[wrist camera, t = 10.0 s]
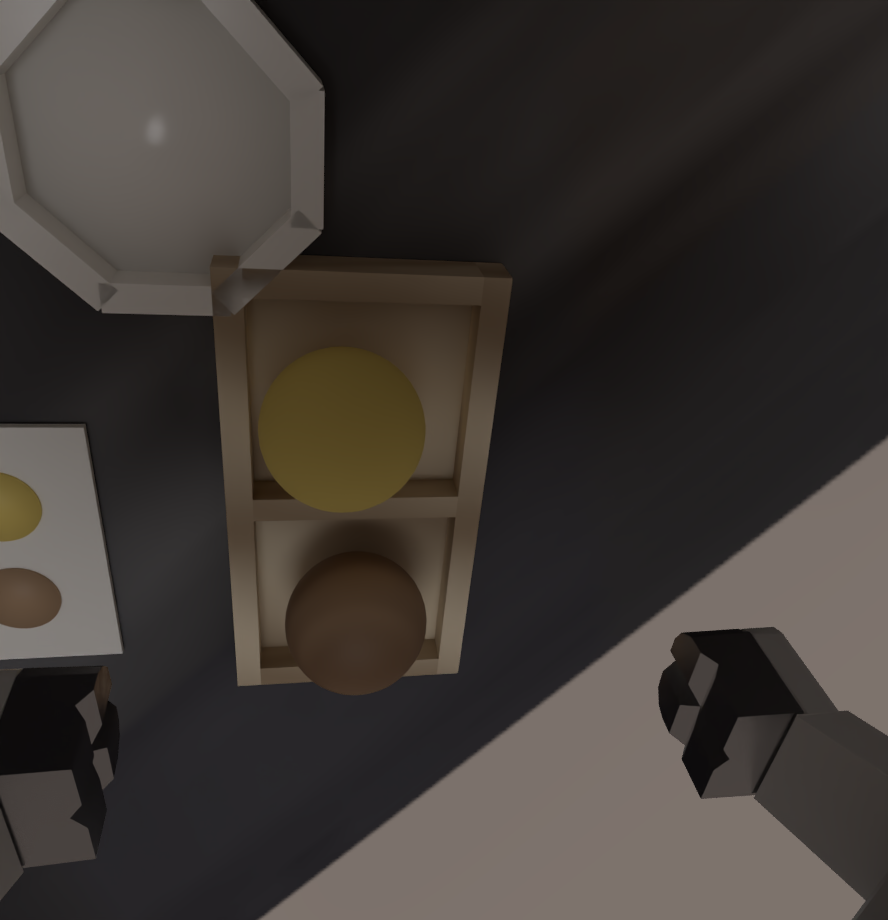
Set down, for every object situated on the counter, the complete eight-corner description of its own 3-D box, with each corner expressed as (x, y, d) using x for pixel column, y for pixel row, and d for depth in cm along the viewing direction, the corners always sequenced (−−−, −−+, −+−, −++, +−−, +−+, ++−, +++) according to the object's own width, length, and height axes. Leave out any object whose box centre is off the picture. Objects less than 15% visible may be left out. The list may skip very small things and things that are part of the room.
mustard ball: (283, 313, 19) (229, 378, 16) (440, 332, 19) (420, 403, 16) (286, 449, 21) (238, 533, 18) (428, 467, 21) (407, 557, 18)
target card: (-131, 423, 19) (-137, 429, 19) (85, 423, 20) (82, 429, 20) (-53, 657, 23) (-57, 665, 23) (123, 648, 24) (122, 656, 24)
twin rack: (214, 251, 18) (209, 266, 17) (501, 263, 19) (512, 278, 18) (240, 657, 25) (238, 685, 24) (451, 646, 26) (457, 673, 25)
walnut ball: (284, 525, 22) (282, 621, 19) (421, 522, 23) (442, 614, 20) (286, 627, 24) (284, 731, 21) (412, 621, 25) (430, 721, 22)
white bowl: (-57, -71, 14) (-84, -76, 13) (323, -30, 16) (326, -31, 15) (16, 292, 18) (0, 310, 17) (321, 301, 19) (322, 318, 18)
